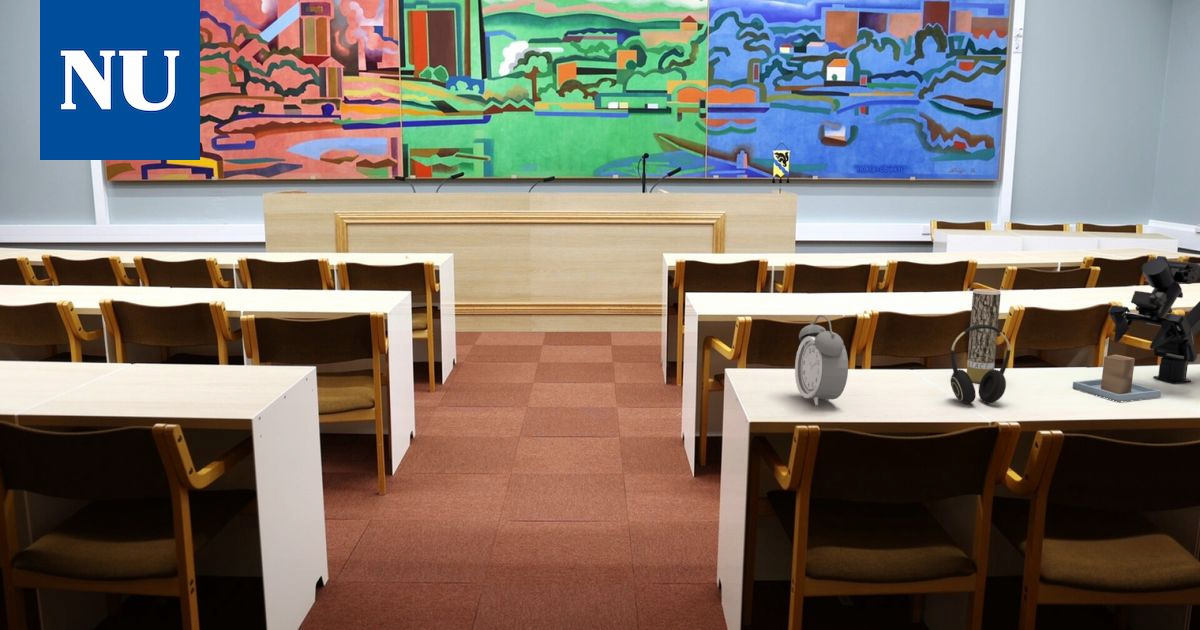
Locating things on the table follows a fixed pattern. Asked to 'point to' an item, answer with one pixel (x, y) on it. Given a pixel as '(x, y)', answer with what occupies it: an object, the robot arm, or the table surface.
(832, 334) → the alarm clock
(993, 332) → the paper tube
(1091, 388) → the tray
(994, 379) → the headphones
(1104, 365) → the walnut block
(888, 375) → the table surface
